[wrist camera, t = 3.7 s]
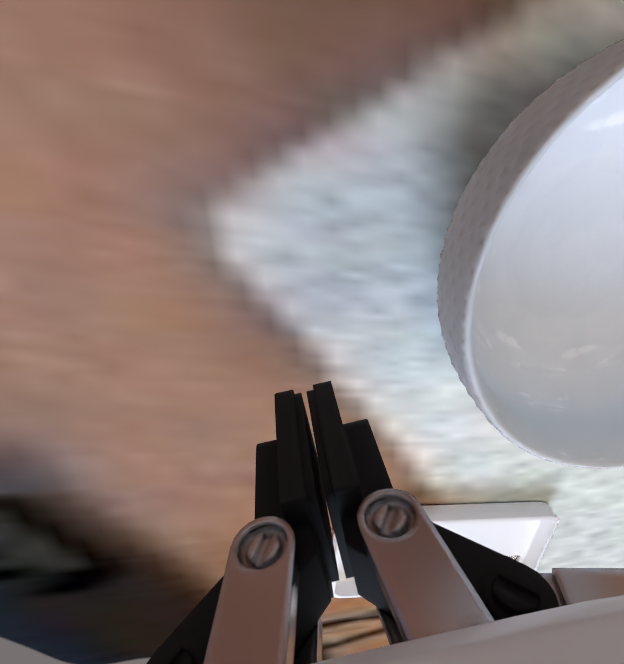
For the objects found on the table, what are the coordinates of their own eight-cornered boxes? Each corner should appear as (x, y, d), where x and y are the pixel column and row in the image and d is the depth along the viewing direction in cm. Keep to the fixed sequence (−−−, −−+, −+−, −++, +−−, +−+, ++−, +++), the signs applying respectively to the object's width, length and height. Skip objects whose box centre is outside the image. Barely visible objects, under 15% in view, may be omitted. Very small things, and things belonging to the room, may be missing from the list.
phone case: (550, 499, 29) (336, 507, 27) (562, 516, 27) (340, 525, 26) (519, 569, 32) (326, 580, 30) (529, 587, 31) (329, 600, 29)
